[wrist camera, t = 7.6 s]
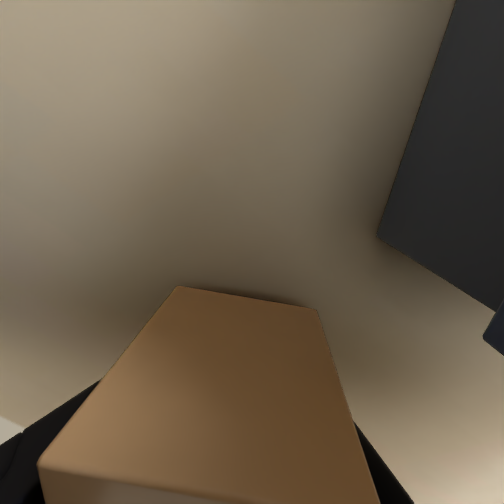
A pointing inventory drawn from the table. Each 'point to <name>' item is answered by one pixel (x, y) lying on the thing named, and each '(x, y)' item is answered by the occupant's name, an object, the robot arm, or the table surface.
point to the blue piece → (458, 165)
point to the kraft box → (214, 414)
